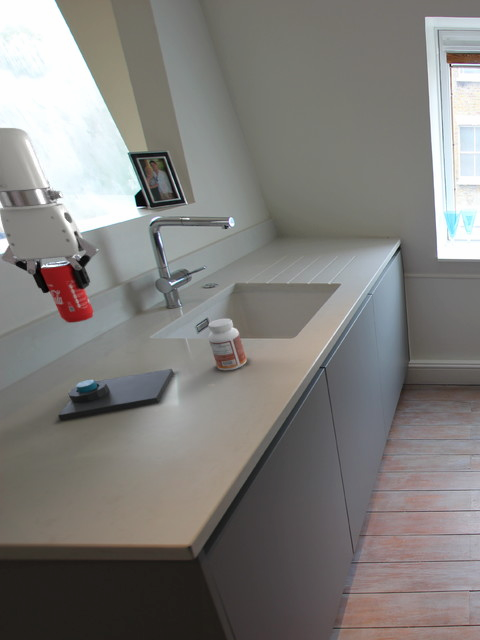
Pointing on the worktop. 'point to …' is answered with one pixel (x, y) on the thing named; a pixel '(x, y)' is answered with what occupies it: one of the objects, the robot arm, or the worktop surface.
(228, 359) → the pill bottle
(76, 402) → the scale
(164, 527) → the worktop surface
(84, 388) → the tare button
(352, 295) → the worktop surface
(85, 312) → the beverage can
